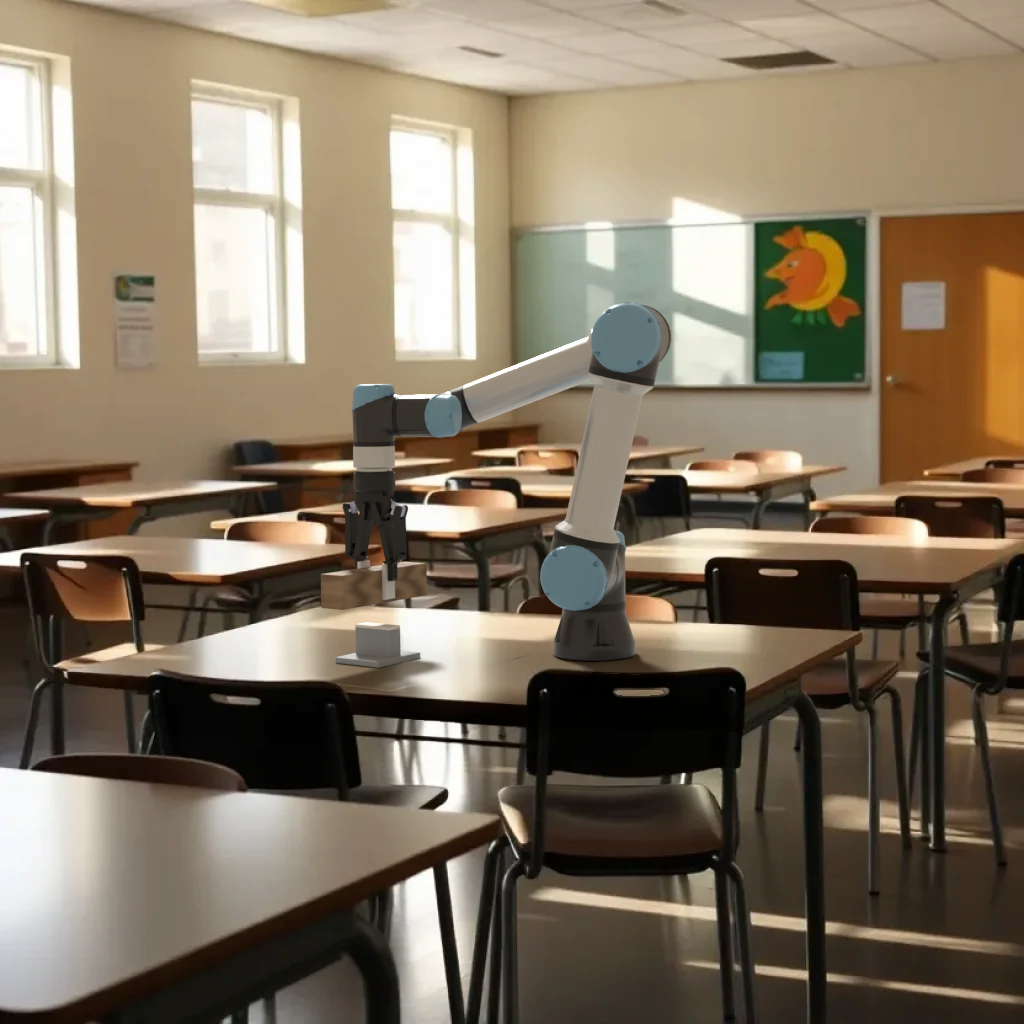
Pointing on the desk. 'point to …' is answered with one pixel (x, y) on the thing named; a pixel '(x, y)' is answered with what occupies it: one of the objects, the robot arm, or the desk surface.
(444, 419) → the robot arm
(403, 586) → the brown long rectangular block
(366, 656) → the fulcrum
